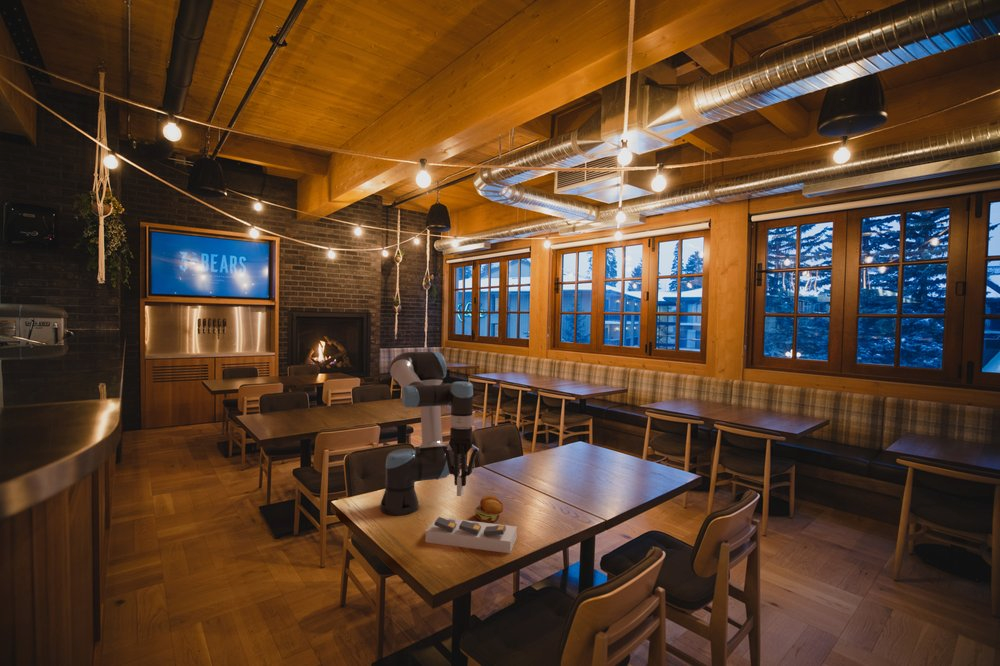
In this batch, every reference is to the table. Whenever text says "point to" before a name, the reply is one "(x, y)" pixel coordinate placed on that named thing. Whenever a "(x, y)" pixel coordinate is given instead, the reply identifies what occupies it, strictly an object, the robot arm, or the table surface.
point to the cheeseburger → (489, 509)
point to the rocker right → (494, 530)
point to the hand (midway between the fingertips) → (460, 494)
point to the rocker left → (445, 524)
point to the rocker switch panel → (473, 537)
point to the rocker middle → (470, 527)
